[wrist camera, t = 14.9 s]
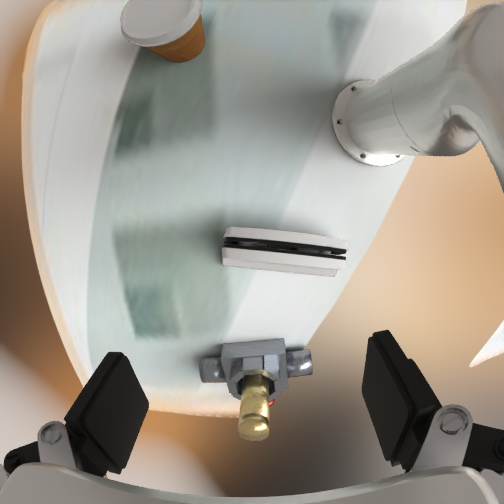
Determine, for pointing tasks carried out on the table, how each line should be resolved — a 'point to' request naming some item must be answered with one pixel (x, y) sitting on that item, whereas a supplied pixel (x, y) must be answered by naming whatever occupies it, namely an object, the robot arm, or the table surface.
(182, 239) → the table surface
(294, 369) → the valve body
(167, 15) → the disposable coffee cup
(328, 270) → the white slotted block
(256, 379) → the brass cylinder
